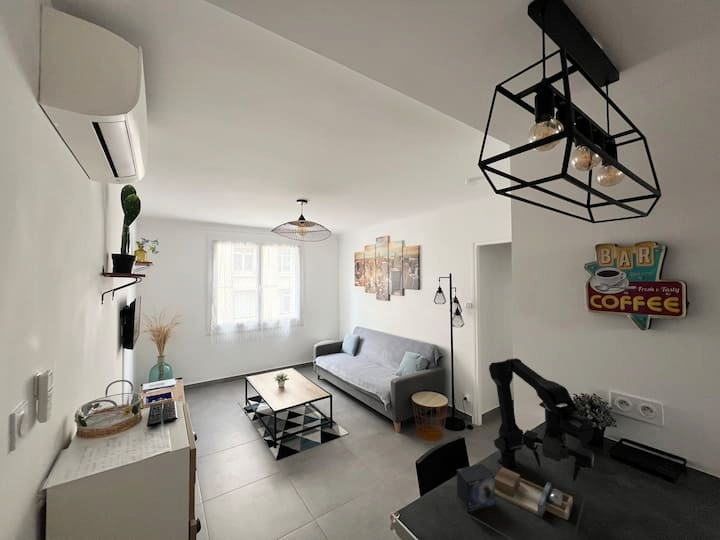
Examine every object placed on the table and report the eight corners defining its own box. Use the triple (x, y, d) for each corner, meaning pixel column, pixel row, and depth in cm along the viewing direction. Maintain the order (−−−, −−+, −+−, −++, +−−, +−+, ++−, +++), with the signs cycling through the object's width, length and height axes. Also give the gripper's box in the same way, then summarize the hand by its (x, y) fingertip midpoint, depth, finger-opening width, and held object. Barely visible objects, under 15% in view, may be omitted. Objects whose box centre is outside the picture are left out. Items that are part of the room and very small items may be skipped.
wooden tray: (501, 473, 111) (501, 462, 111) (572, 504, 95) (572, 492, 95) (488, 492, 101) (488, 480, 101) (565, 530, 86) (565, 516, 86)
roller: (549, 508, 94) (546, 496, 94) (552, 499, 97) (549, 487, 98) (562, 511, 91) (559, 499, 92) (565, 502, 95) (561, 490, 96)
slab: (502, 476, 108) (502, 467, 108) (520, 484, 104) (520, 474, 104) (494, 488, 102) (494, 478, 102) (513, 497, 98) (512, 487, 98)
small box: (468, 515, 92) (467, 482, 92) (456, 499, 99) (455, 468, 99) (496, 507, 95) (495, 475, 95) (482, 492, 101) (482, 462, 101)
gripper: (516, 425, 95) (517, 473, 95) (588, 448, 82) (590, 504, 82) (526, 412, 103) (527, 457, 103) (593, 432, 90) (594, 482, 90)
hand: (556, 473), depth 94 cm, fingers open, 9 cm apart
